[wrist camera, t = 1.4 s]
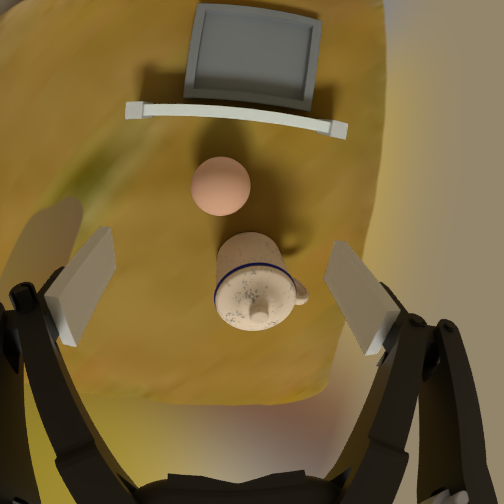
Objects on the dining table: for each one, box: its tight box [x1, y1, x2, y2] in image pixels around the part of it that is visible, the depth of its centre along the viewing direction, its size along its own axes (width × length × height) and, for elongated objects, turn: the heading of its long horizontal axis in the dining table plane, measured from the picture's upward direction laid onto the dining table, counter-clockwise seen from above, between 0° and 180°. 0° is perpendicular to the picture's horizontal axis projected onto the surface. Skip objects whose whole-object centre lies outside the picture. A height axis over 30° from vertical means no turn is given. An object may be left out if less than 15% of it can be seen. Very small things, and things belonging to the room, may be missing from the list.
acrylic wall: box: [125, 101, 348, 140], centre depth 26 cm, size 23×2×5 cm, turn 83°
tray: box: [183, 3, 322, 111], centre depth 24 cm, size 14×12×2 cm
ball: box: [191, 157, 251, 216], centre depth 29 cm, size 6×6×6 cm
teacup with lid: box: [214, 232, 309, 331], centre depth 32 cm, size 12×9×12 cm
